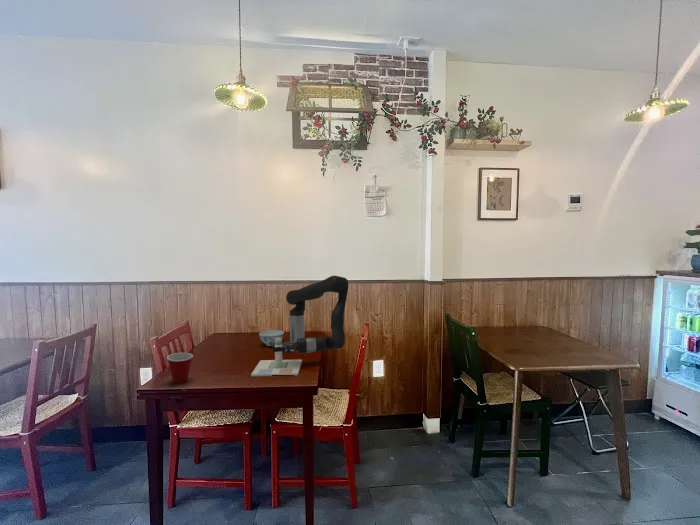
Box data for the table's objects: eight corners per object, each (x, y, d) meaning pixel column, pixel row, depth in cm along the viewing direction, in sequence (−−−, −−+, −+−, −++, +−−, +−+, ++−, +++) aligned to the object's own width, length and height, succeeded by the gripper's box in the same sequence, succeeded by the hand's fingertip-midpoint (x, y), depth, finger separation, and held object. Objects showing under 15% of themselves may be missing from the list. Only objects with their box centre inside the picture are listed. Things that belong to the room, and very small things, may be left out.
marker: (275, 360, 178) (275, 337, 178) (283, 360, 178) (282, 337, 178) (274, 362, 175) (274, 339, 174) (281, 362, 175) (281, 339, 174)
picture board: (260, 362, 184) (260, 360, 184) (302, 361, 185) (301, 359, 185) (251, 376, 164) (251, 374, 164) (297, 375, 165) (297, 373, 165)
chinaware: (281, 348, 208) (280, 335, 208) (256, 348, 209) (256, 335, 208) (286, 341, 223) (286, 329, 223) (263, 341, 224) (262, 329, 223)
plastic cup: (183, 386, 153) (182, 360, 152) (162, 385, 155) (161, 358, 154) (198, 377, 163) (198, 352, 163) (178, 376, 165) (177, 351, 165)
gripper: (304, 334, 187) (271, 337, 182) (308, 341, 173) (273, 345, 168) (304, 348, 187) (271, 351, 182) (309, 356, 174) (274, 360, 169)
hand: (272, 348), depth 175 cm, fingers closed on marker, 3 cm apart
